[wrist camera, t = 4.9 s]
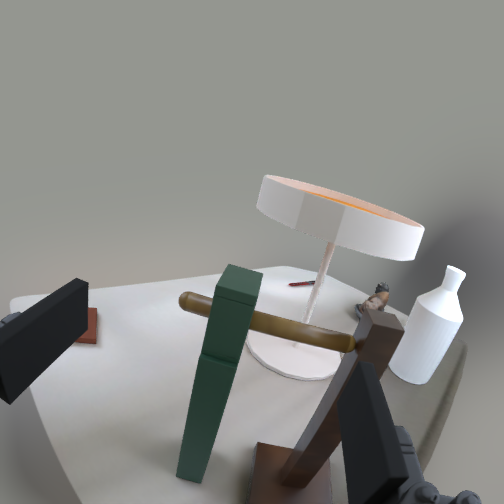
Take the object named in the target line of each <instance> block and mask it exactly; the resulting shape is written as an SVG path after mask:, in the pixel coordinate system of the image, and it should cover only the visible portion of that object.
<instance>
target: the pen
mask: <svg viewBox="0 0 504 504" xmlns="http://www.w3.org/2000/svg"><path fill="white" fill-rule="evenodd" d="M301 283H302V284H301ZM292 284H295V285H292ZM306 284H309V285H310V284H315V281H309V282H300V283H290V284H289V285H291V286H297V285H306Z"/></svg>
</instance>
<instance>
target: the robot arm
mask: <svg viewBox="0 0 504 504" xmlns="http://www.w3.org/2000/svg"><path fill="white" fill-rule="evenodd" d="M87 330H88V282H85V281H83V280H80V279H78V278H75V279H74V280H72V281H71V282H69V283H67V284H66V285H64V286H63V287H61V288H60V289H58V290H56V291H55V292H53V293H52V294H50V295H49V296H47V297H45V298H44V299H42V300H41V301H39V302H38V303H36V304H35V305H33V306H32V307H30V308H29V309H27V310H26V311H24V312H23V313H20V312H17V313H13V314H10V315H8V316H7V317H5V318H3V319H2V320H1V321H0V398H1V399H2V400H4V401H5V402H6V403H8V404H9V405H10V404H11V403H12V402H13V401H14V400H15V399H16V398H17V397H18V396H19V395H20V394H21V393H22V392H23V391H24V390H25V389H26V388H27V387H28V386H29V385H30V384H31V383H32V382H33V381H34V380H35V379H36V378H37V377H38V376H39V375H41V374H42V373H43V372H44V371H45V370H46V369H47V368H48V367H49V366H50V365H51V364H52V363H53V362H54V361H55V360H56V359H57V358H58V357H59V356H60V355H61V354H62V353H63V352H64V351H66V350H67V349H68V348H69V347H70V346H71V345H72V344H73V343H74V342H75V341H76V340H77V339H78V338H79V337H81V336H82V335H83V334H84V333H85V332H86V331H87ZM336 405H337V412H338V419H339V426H340V433H341V441H342V448H343V456H344V465H345V473H346V483H347V492H348V502H349V504H481V500H480V498H479V496H478V495H477V494H475V493H474V492H472V491H467V490H465V491H462V492H461V493H460V494H458V495H457V496H456V497H450V496H445V495H440V494H439V492H438V490H437V488H436V487H435V486H434V485H432V484H431V483H429V482H426V481H425V480H424V477H423V474H422V471H421V467H420V464H419V461H418V458H417V455H416V454H415V449H414V447H413V443H412V440H411V437H410V435H409V433H408V432H407V431H406V430H405V428H404V427H403V426H394V423H393V420H392V417H391V414H390V411H389V408H388V405H387V402H386V399H385V396H384V393H383V390H382V387H381V384H380V381H379V378H378V375H377V373H376V370H375V367H374V364H373V363H369V362H364V361H358V363H357V365H356V367H355V369H354V371H353V373H352V375H351V377H350V379H349V380H348V382H347V384H346V386H345V388H344V390H343V392H342V393H341V395H340V397H339V399H338V401H337V402H336Z"/></svg>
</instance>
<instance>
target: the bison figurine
mask: <svg viewBox="0 0 504 504" xmlns="http://www.w3.org/2000/svg"><path fill="white" fill-rule="evenodd" d="M388 292H389V288H388V285H387V284H386V283H380V284H378V287H376V291H375V293H376V294H374V295H372V296H371V297H369V298H368V300H366V301H365V302H364V303H363V304H362V305H361V304H357V305H355V312H356V314H357V316H358V317H359V318H360V319H361V317H362V314H363V312H364V310H365V308H370V309H374V310H378V311H382V312H384V307H385V306H386V303H387V301H388V298H389V294H388Z"/></svg>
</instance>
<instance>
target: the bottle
mask: <svg viewBox="0 0 504 504" xmlns="http://www.w3.org/2000/svg"><path fill="white" fill-rule="evenodd" d="M445 272H446V275H445V278H444V280H443V283H442V286H440V287H438V288H436V289H434V290H432V291H430V292H428V293H426V294H423V295H420V296H418V297H417V299H416V302H415V304H414V306H413V309H412V311H411V313H410V316H409V318H408V320H407V322H406V325H405V327H404V330H405V333H404V335H403V337H402V339H401V341H400V343H399V345H398V347H397V349H396V351H395V353H394V355H393V356H392V358H391V360H390V362H389V364H388V365H389V367H390V369H391V370H392V371H393V373H395V374H396V375H397V376H398V377H399V378H401V379H403V380H405V381H407V382H409V383H412V384H425V383H427V382H428V380H429V379H430V377H431V376H432V374H433V373H434V371H435V369H436V368H437V366H438V364H439V363H440V361H441V359H442V358H443V356H444V354H445V353H446V351H447V349H448V347H449V345H450V344H451V342H452V340H453V338H454V336H455V335H456V333H457V331H458V329H459V327H460V325H461V323H462V321H463V316H462V313H461V310H460V306H459V302H458V298H457V294H456V293H457V291H458V288H459V286H460V284H461V282H462V280H464V278H465V275H466V274H465V273H464V272H462V271H461V270H459V269H457V268H454V267H452V266H447V269H446V271H445Z"/></svg>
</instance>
